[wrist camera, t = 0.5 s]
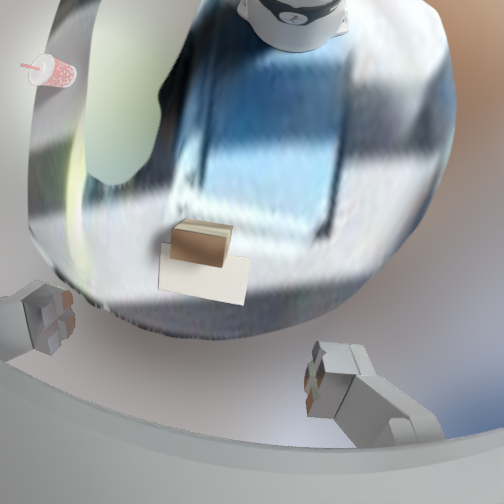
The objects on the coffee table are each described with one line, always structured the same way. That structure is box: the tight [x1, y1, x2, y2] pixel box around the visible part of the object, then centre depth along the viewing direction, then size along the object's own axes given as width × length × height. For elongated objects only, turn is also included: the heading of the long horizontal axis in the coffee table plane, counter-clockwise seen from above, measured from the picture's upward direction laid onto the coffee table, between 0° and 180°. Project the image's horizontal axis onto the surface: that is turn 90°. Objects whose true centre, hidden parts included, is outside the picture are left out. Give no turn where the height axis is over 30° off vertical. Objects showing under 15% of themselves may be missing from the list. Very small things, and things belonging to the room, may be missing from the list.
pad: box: [159, 243, 252, 305], centre depth 54 cm, size 9×16×1 cm, turn 81°
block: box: [170, 218, 233, 268], centre depth 48 cm, size 4×8×8 cm, turn 81°
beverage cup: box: [21, 53, 77, 88], centre depth 37 cm, size 6×6×14 cm
